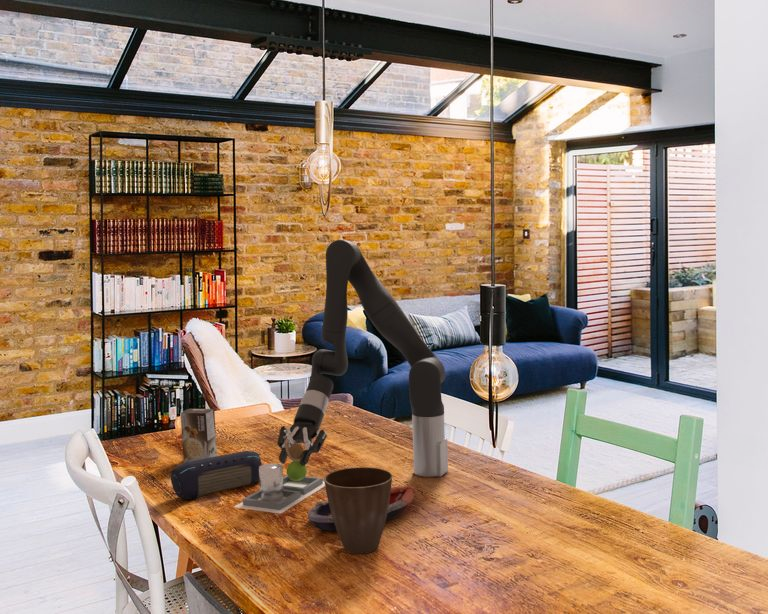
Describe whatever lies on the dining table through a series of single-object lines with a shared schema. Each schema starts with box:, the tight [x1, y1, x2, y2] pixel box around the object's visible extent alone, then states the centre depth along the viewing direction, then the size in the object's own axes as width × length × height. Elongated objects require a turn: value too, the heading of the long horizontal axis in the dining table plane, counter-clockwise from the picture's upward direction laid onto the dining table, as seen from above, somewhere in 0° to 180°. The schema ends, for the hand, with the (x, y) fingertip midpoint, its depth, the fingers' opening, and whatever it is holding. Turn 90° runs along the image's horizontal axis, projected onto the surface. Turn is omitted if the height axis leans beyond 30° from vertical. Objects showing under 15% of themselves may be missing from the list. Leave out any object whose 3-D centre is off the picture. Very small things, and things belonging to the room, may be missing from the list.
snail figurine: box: [283, 436, 308, 481], centre depth 208 cm, size 5×6×12 cm
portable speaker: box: [170, 450, 263, 500], centre depth 211 cm, size 25×10×10 cm, turn 123°
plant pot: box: [323, 466, 393, 555], centre depth 169 cm, size 15×15×16 cm
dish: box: [307, 486, 416, 532], centre depth 188 cm, size 16×31×5 cm, turn 124°
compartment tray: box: [233, 474, 325, 514], centre depth 203 cm, size 14×26×3 cm, turn 156°
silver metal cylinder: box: [258, 462, 284, 502], centre depth 197 cm, size 6×6×9 cm
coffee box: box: [180, 408, 218, 463], centre depth 242 cm, size 9×6×16 cm
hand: (291, 463), depth 207 cm, fingers closed on snail figurine, 5 cm apart
